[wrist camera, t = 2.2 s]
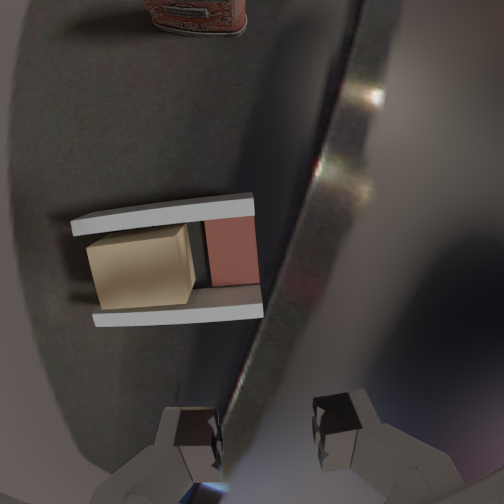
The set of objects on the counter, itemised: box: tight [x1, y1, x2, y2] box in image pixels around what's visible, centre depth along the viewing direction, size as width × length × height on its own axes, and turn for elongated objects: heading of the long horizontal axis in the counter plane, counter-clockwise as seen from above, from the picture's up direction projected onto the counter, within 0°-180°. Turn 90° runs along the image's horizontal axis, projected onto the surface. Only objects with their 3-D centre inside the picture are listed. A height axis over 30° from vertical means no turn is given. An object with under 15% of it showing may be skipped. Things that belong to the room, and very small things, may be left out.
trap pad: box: [204, 216, 260, 287], centre depth 27 cm, size 6×4×1 cm, turn 5°
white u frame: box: [71, 193, 263, 327], centre depth 25 cm, size 9×14×4 cm, turn 95°
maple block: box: [86, 223, 195, 310], centre depth 25 cm, size 5×7×5 cm
